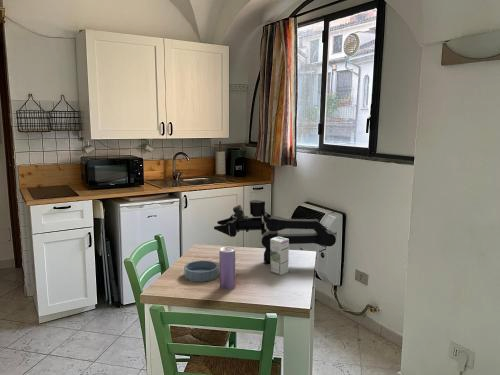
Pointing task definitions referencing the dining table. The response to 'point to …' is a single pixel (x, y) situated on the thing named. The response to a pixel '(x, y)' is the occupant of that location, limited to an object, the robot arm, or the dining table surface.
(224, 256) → the beverage can
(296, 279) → the dining table surface
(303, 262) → the dining table surface
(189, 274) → the bowl
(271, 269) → the syrup box
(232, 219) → the robot arm
